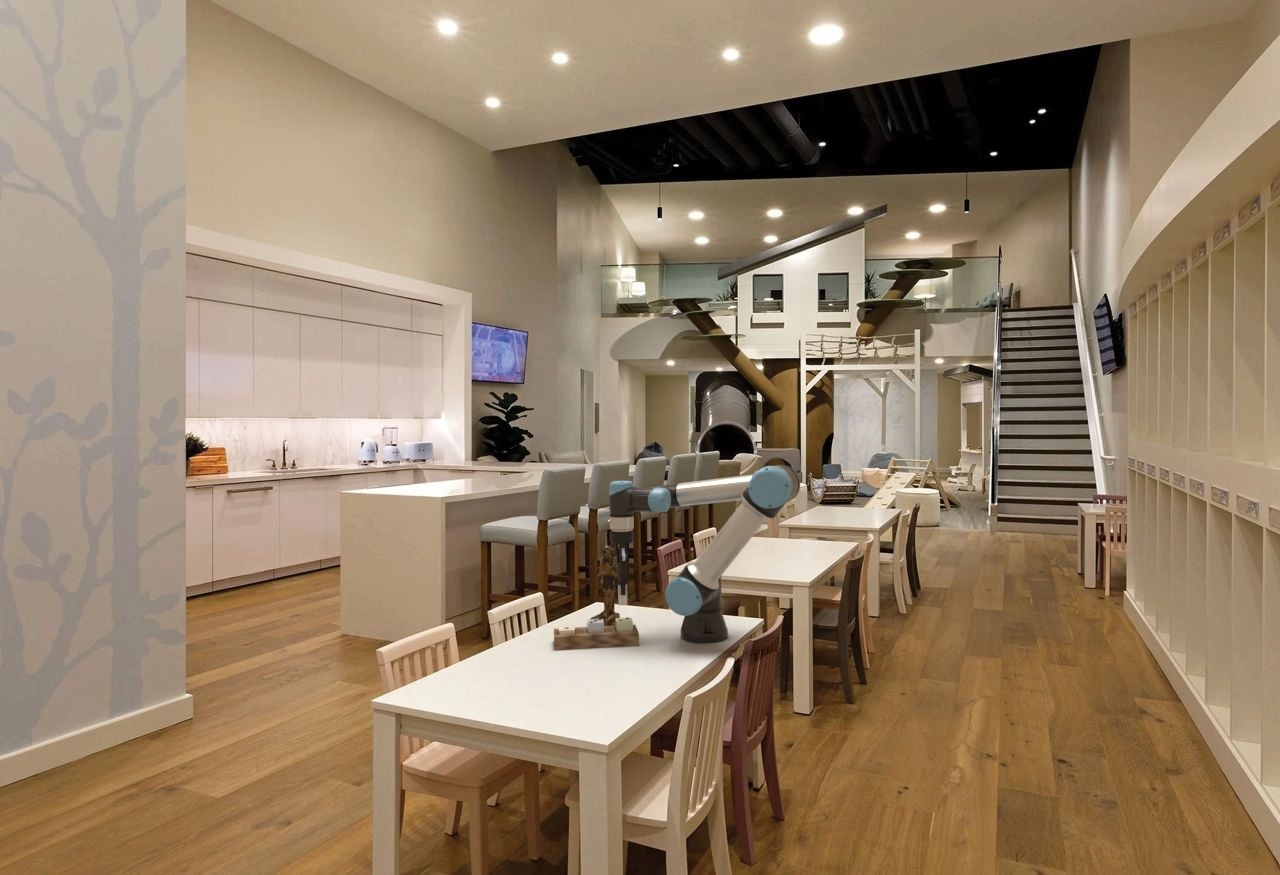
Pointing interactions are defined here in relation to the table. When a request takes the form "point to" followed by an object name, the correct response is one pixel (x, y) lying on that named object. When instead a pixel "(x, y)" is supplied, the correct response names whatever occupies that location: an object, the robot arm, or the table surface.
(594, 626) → the button
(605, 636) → the wooden tray
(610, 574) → the statue
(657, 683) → the table surface
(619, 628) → the pale green block
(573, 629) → the button
